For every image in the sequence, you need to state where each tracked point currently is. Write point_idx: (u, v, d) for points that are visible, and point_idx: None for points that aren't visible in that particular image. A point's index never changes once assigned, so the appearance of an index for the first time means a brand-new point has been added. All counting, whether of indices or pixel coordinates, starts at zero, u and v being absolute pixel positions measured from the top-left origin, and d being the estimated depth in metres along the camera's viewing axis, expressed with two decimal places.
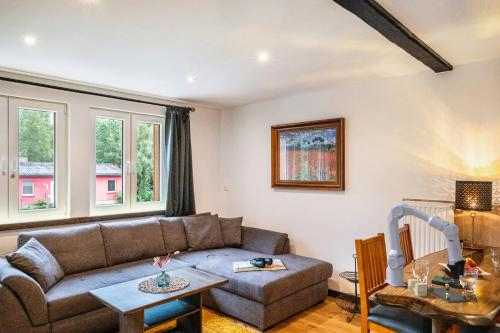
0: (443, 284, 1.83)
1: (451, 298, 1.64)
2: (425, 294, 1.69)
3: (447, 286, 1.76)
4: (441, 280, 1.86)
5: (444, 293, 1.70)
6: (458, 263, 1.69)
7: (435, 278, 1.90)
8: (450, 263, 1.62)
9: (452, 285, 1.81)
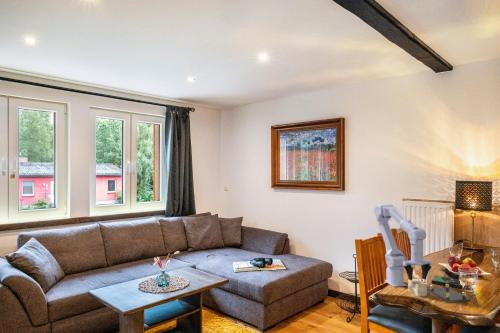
0: (443, 284, 1.83)
1: (451, 298, 1.64)
2: (425, 294, 1.69)
3: (447, 286, 1.76)
4: (441, 280, 1.86)
5: (444, 293, 1.70)
6: (423, 267, 1.74)
7: (435, 278, 1.90)
8: (403, 264, 1.73)
9: (452, 285, 1.81)
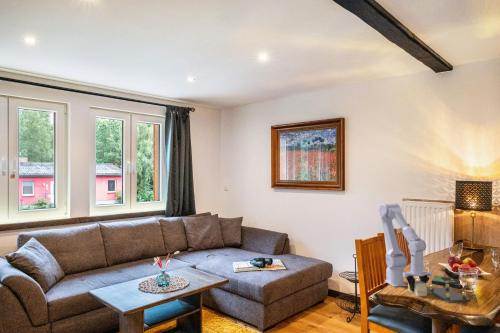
0: (443, 284, 1.83)
1: (451, 298, 1.64)
2: (425, 294, 1.69)
3: (447, 286, 1.76)
4: (441, 280, 1.86)
5: (444, 293, 1.70)
6: (421, 278, 1.74)
7: (435, 278, 1.90)
8: (403, 275, 1.73)
9: (452, 285, 1.81)
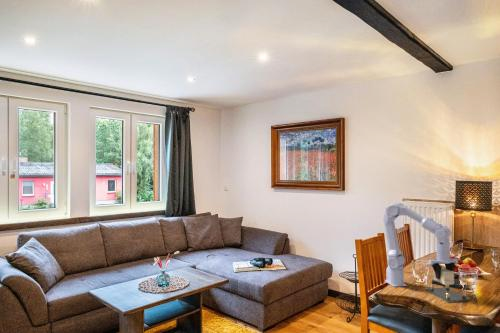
0: None
1: (451, 298, 1.64)
2: (452, 282, 1.66)
3: (447, 286, 1.76)
4: None
5: (444, 293, 1.70)
6: (447, 266, 1.71)
7: None
8: (429, 263, 1.70)
9: (453, 285, 1.81)
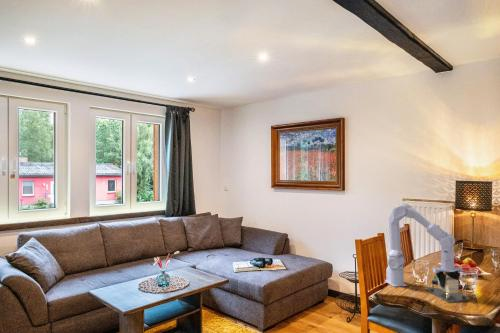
0: None
1: (451, 298, 1.64)
2: (457, 291, 1.66)
3: None
4: None
5: (444, 293, 1.70)
6: (452, 274, 1.71)
7: (435, 278, 1.90)
8: (433, 271, 1.69)
9: None
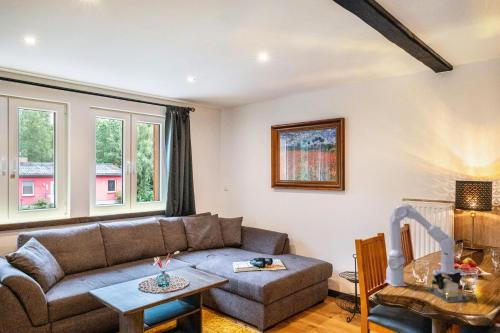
0: None
1: (451, 298, 1.64)
2: (456, 294, 1.66)
3: None
4: None
5: None
6: (454, 276, 1.71)
7: None
8: (433, 273, 1.69)
9: None
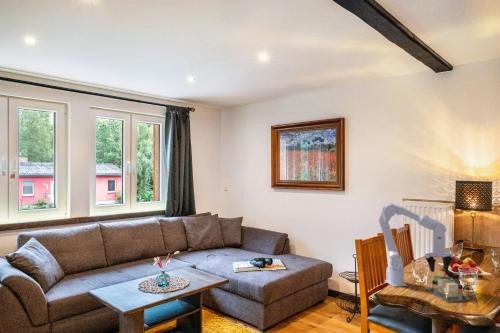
0: None
1: (451, 298, 1.64)
2: (456, 294, 1.66)
3: None
4: None
5: None
6: (445, 259, 1.80)
7: (435, 278, 1.89)
8: (425, 256, 1.79)
9: None
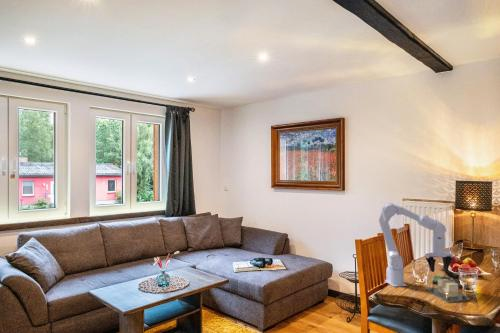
0: None
1: (451, 298, 1.64)
2: (456, 294, 1.66)
3: None
4: None
5: None
6: (445, 259, 1.80)
7: (435, 278, 1.89)
8: (425, 256, 1.79)
9: None
